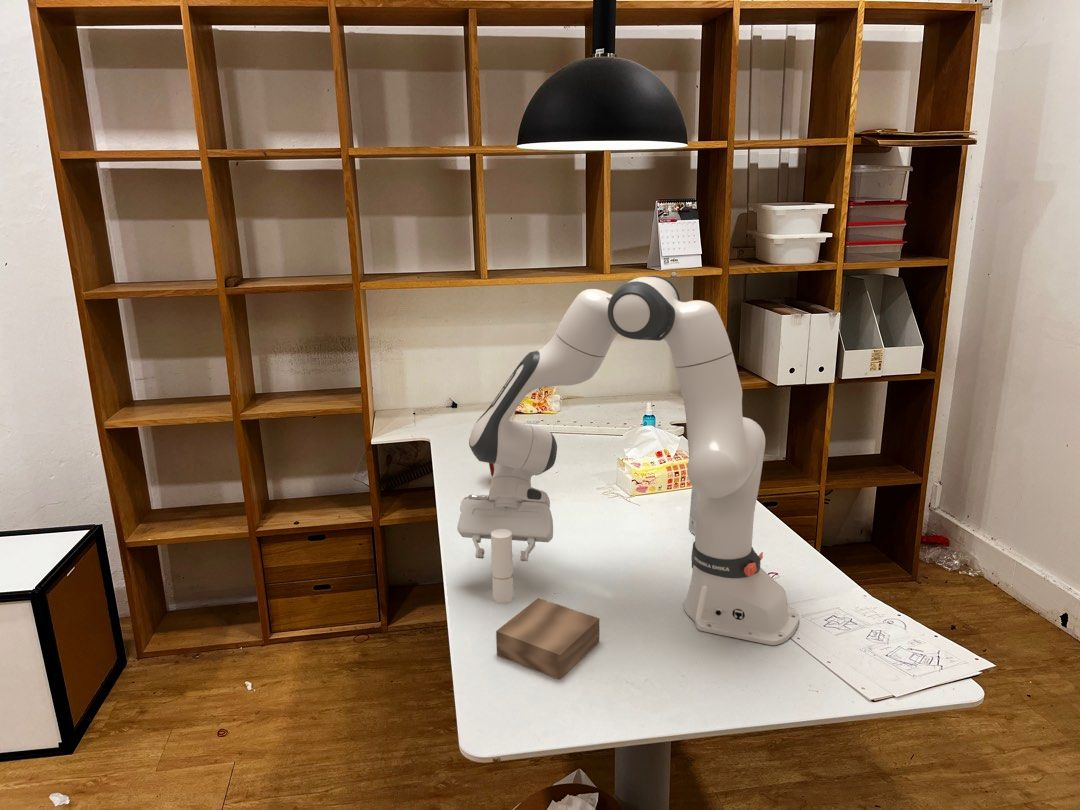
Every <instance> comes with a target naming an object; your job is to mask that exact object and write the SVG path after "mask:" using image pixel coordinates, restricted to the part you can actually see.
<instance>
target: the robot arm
mask: <svg viewBox="0 0 1080 810" xmlns="http://www.w3.org/2000/svg"><path fill="white" fill-rule="evenodd" d="M679 293H680V292H679V290H678V289H677V287H676V286H675V284H674V283H673V281H671V280H669V279H667V278H666V277H662V276H660V275H647V276H640V277H635V278H634V279H631V280H628V281H627V282H626V283H624V284H621V286H619V287H617V289H616V290H615V291H614V292H613V294H611V293H609V292H607V291H604V290H603V289H602V290H601V289H599V288H598V289H597V288H587V289H584V290H582V291H581V292H580V293H578V295H576V297H575V299H574V300H573V301H572V303H571V304H570V306H569V307H568V308H567V310H566V312H565V313H564V315H563V317H562V318H561V320H560V323H559V324H558V327H556V331H555V333H554V334H553V335H552V337H551V338H550V340H549V341H548V342H547V343H546V344H544V345H543V346H542V347H540V348H539V349H538V350H535V351H534V350H533V351H531V352H528V353H527V354H526V355H525V356H524V358H523V359H522V360H521V361H520V362H519V363H518V365H517V366H516V367H515V369H514V370H513V372H512V374H511V375H510V376H509V377H508V379H507V381H506V382H505V384H504V385H503V386H502V387H501V389H500V390H499V392H498V394H497V395H496V396H495V398H494V399H493V401H492V402H491V404H490V405H489V406H488V408H487V409H486V410H485V411H484V412H483V414H482V415H481V416H479V418H478V420H477V421H476V422H475V424H474V426H473V427H472V429H471V432H470V436H469V440H468V441H469V442H468V444H469V448H470V450H471V452H472V454H473V455H474V457H475V458H476V459H477V460H478V462H480V463H481V462H482V463H487V464H489V463H492V464H493V465H494V474H493V476H492V475H491V479H490V484H489V485H490V486H489V493H488V495H485V494H484V495H482V494H481V495H480V494H479V495H475V494H469V495H468V496H466V497H463V499H462V500H461V503H460V507H459V510H460V514H459V518H458V522H457V533H458V534H459V535H460V536H461V537H462V538H468V539H472V542H473V545H474V548H475V558H476V559H484V558H485V549H484V548H483V547H481V548H480V545H479V544H480V543H481V542H482V540H483V539H488V540H491V532H492V531H494V530H497V529H507V530H510V531H511V532H512V541H521V542H527V547H526V548H525V550H520V556H519V559H520V561H521V562H529V556H530V554H531V553H532V551H533V550H534V549H535V547H536V542H537V543H550V542H551V541H552V540H553V538H554V520H553V515H552V511H551V509H550V508H551V500H550V497H549V495H548V493H547V492H545V491H543V490H540V489H538V488H535V487H533V486H532V483H531V480H532V477H533V476H536V477H537V476H539V475H542V474H543V473H545V472H548V471H549V470H550V469H552V468H553V466H554V465H555V462H556V459H557V455H558V453H557V452H558V444H557V441H556V438H555V436H554V435H553V433H552V432H551V431H549V430H547V429H544V428H542V427H541V428H540V427H537V426H534V425H531V424H529V425H528V424H525V423H522V422H519V421H516V420H512V419H511V418H512V416H513V415H514V414H515V412H516V411H517V409H518V408H519V406H521V403H522V402H523V400H524V399H525V398H526V396H527V395H528V394H530V393H531V392H532V391H534V390H539V389H542V388H546V387H547V388H548V387H557V386H558V387H561V386H563V387H564V386H566V387H567V386H576V385H579V384H582V383H585V382H587V381H589V380H590V379H592V378H593V377H594V376H595V374H596V373H597V372H598V370H599V369H600V367H601V365H602V364H603V362H604V360H605V358H606V355H607V354H608V351H609V350H610V347H611V345H613V344H612V343H613V342H614V340H615V338H616V337H617V336H618V335H620V336H622V337H624V338H626V339H631V340H640V341H641V340H643V341H657V342H660V341H662V340H664V341H665V342H666V343H667V346H668V349H669V351H670V353H671V357H672V360H673V364H674V365H673V366H674V368H675V371H676V372H675V373H676V377H677V381H678V384H679V388H680V389H679V390H680V391H681V396H682V399H683V400H682V401H683V405H684V412H685V423H686V437H687V438H686V439H687V446H688V447H687V448H688V461H687V462H688V463H687V476H688V480H689V482H690V484H691V487H692V486H693V487H694V488H695V489H696V490H697V491H698V492H699V493H701V494H700V498H699V501H698V504H697V509H696V531H695V535H694V536H695V537H694V541H693V543H692V548H691V569H692V572H691V578H690V583H689V588H688V591H687V594H686V597H685V599H684V603H683V609H684V612H685V613H686V614H687V616H688V617H689V618H690V619H692V620H693V622H694V624H695V627H696V629H697V630H699V631H701V632H706V633H711V634H714V635H719V636H725V637H730V638H734V639H739V640H740V639H741V640H744V641H747V642H749V641H750V642H755V643H759V644H764V645H769V646H777V645H781V644H783V643H785V642H786V641H788V640H789V639H790V638H791V637H792V636H793V635H794V633H795V632H796V631H797V629H798V628H799V627H798V626H799V623H800V622H799V621H800V620H799V619H800V618H799V613H798V611H797V610H796V609H795V608H793V607H792V606H789V605H788V597H787V594H786V590H785V588H784V587H783V586H782V585H781V584H780V583H778V581H776V580H775V579H774V578H773V577H771V576H770V574H768V573H767V572H766V571H765V570H764V569H763V568H762V567H761V562H762V560H763V557H764V556H763V555H764V552H763V551H761V552H760V553H759V554H757V553H756V551H755V549H754V548H753V533H754V532H753V531H754V519H755V518H754V517H755V511H756V504H757V499H758V495H759V489H760V483H761V478H762V477H761V476H762V470H763V463H764V455H765V449H766V436H765V435H766V434H765V431H764V430H763V428H762V427H761V425H759V424H758V422H756V421H754V419H752V418H749V417H745V416H743V388H742V385H741V380H740V376H739V373H738V368H737V364H736V360H735V356H734V352H733V349H732V344H731V342H730V338H729V336H728V332H727V331H726V327H725V325H724V322H723V320H722V318H721V316H720V314H719V312H718V309H717V308H716V307H715V305H714V304H712V303H711V302H709V301H705V300H700V299H699V300H697V299H696V300H689V301H681V298H680V294H679Z"/></svg>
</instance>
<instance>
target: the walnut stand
mask: <svg viewBox="0 0 1080 810" xmlns="http://www.w3.org/2000/svg"><path fill="white" fill-rule="evenodd" d="M600 620H601V618H599V617H596V616H594V615H591V614H587V613H585V612H581V611H578V610H575V609H573V608H569V607H568V606H565V605H564V606H563V605H560V604H558V603H555V602H552V601H549V600H546V599H543V598H539V597H537V598H536V599H535V600H533V601H532V602H531V603H530V604H528V605H527V606H525V608H524V609H522V610H521V611H519V613H517V614H516V615H514V616H513V617H512V618H511V619H510V620H508V621H507V622H506V623H505V624H503V625H501V627H499V628H498V629H497V630H495V639H496V655H497V656H499V657H502V658H505V659H507V660H509V661H512V662H515V663H517V664H519V665H522V666H526V667H528V668H530V669H533V670H535V671H537V672H540V673H543V674H545V675H548V676H550V677H553V678H555V679H559V680H561V679H562V678H563V677H565V676H566V674H568V672H570V670H572V668H574V667H575V665H577V664H578V663H579V662H580V661H581V660H582V659H583V658H584V657H585V656H586V655H587V654H588V653H589V652H590V651H592V649H593V648H594V647H596V646H597V644H598V643H600Z"/></svg>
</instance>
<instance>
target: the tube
mask: <svg viewBox="0 0 1080 810" xmlns="http://www.w3.org/2000/svg"><path fill="white" fill-rule="evenodd" d="M490 550H491V575H492V576H491V578H492V600H493V601H494V602H495V603H497V604H508V603H510V602H512V601H513V600H514V578H513V577H514V576H513V573H514V572H513V571H514V570H513V569H514V568H513V540H512V532H511V531H510V530H507V529H497V530H494V531H492V532H491V539H490Z"/></svg>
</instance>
